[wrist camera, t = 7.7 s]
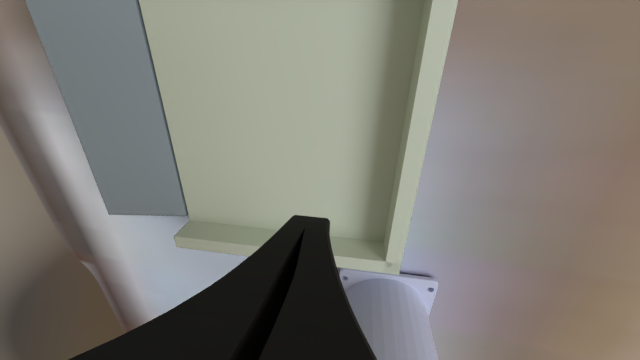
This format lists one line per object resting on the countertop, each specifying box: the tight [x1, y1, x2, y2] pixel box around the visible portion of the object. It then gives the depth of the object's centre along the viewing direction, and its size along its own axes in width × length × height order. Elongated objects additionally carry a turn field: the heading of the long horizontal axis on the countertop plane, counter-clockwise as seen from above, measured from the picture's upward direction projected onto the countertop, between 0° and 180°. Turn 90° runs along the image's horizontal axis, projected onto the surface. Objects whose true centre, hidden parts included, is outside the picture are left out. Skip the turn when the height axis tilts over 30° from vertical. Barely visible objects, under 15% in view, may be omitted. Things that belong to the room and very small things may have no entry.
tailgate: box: [25, 0, 188, 216], centre depth 18 cm, size 15×2×6 cm
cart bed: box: [139, 0, 458, 275], centre depth 16 cm, size 18×16×4 cm
